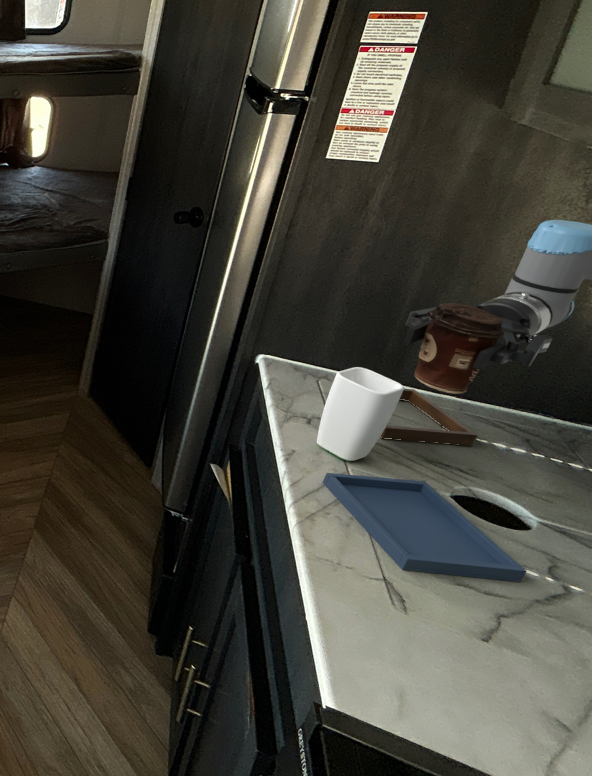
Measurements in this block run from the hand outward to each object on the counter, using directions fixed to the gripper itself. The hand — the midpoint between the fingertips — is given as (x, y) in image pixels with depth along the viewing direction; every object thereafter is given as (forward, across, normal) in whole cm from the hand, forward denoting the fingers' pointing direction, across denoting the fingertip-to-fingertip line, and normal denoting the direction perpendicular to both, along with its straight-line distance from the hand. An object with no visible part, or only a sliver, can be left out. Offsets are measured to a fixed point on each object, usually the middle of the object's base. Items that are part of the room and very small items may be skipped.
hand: (443, 348), depth 98 cm
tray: (+12, +8, +24) cm, 28 cm away
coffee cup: (-5, 0, +8) cm, 9 cm away
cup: (+2, -6, +24) cm, 25 cm away
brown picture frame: (-19, -7, +24) cm, 31 cm away
